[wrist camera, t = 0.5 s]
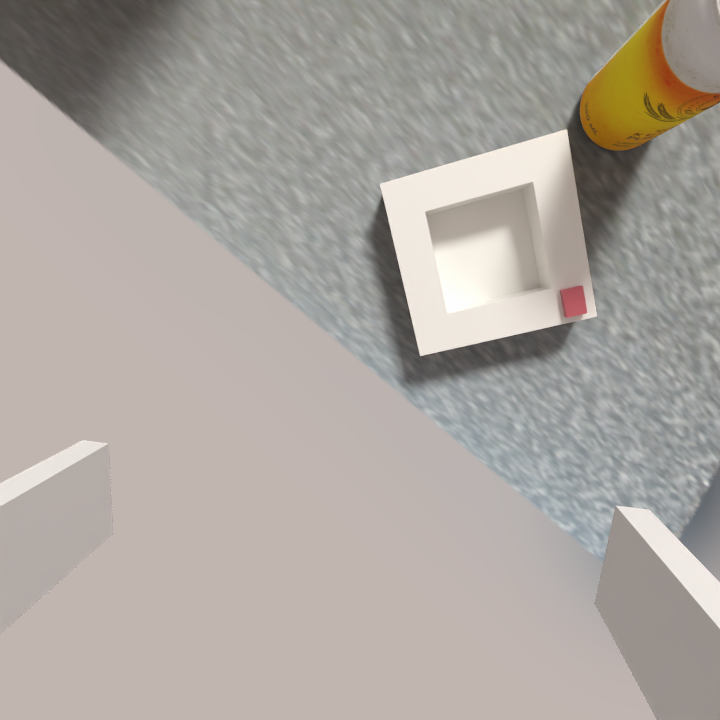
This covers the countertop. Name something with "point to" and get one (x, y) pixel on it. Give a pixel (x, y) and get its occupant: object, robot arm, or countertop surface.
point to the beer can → (656, 76)
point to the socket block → (491, 245)
